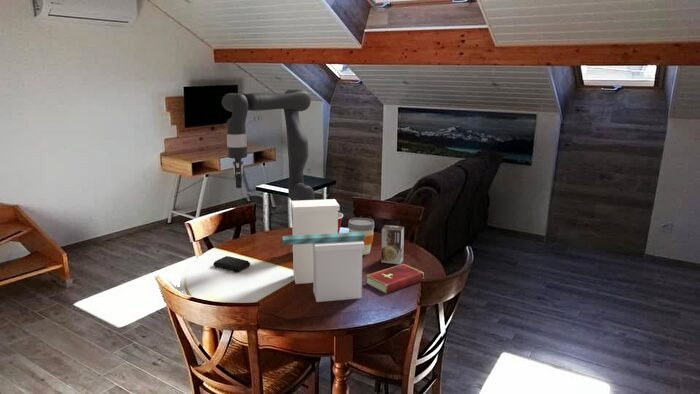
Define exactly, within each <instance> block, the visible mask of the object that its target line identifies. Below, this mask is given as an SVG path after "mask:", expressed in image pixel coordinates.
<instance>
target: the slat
mask: <svg viewBox="0 0 700 394" xmlns="http://www.w3.org/2000/svg"><path fill="white" fill-rule="evenodd" d="M281 237H282V238H281V239H282V245H283V246H291V245H292V246H293V245H295V244H312V243H330V242H347V241H365V235H364V233H363V232H353V233H348V232H339V233H334V234H316V235H297V236H292V235H283V236H281Z"/></svg>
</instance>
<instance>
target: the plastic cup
mask: <svg viewBox="0 0 700 394" xmlns="http://www.w3.org/2000/svg"><path fill="white" fill-rule="evenodd" d="M343 217H344V214H343V213H342V212H339V211H338V233H340V230H341V225H342V220H343Z"/></svg>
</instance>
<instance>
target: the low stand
mask: <svg viewBox="0 0 700 394" xmlns="http://www.w3.org/2000/svg"><path fill="white" fill-rule="evenodd" d="M312 245H313V284H312V285H313V287H312V289H313V291H312V292H313V295H314V297H315V302H316V303H320V302H322V303H323V302H333V301H334V302H335V301H346V300H354V299H362V293H363V291H362V289H363V288H362V287H363V286H362V285H363V255H362V250H363V249H364V242H363V241H347V242H330V243H312Z"/></svg>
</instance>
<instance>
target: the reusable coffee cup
mask: <svg viewBox="0 0 700 394" xmlns="http://www.w3.org/2000/svg"><path fill="white" fill-rule="evenodd" d="M347 228H348V232H347V233H353V232H363V233H364V235H365V241H363V242H364V249H363V250H362V256H365V255H368V254H370V252H371V248H372V244H373V239H374V234H375V233H374V229H375V221H374V219H371V218H367V217H354V218H350V219H349V220H348V223H347Z"/></svg>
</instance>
